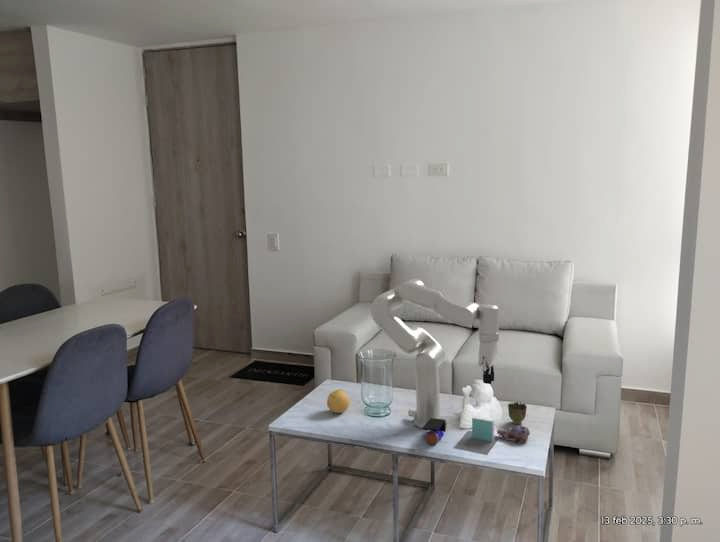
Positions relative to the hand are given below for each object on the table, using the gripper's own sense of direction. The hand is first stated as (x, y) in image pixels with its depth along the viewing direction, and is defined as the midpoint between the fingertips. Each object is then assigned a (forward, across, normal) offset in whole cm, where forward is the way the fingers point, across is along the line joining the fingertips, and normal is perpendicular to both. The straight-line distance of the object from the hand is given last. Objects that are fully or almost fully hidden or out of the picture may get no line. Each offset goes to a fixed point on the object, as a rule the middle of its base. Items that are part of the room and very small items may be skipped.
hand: (488, 381), depth 231 cm
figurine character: (+21, +14, -17) cm, 31 cm away
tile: (+21, +7, 0) cm, 22 cm away
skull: (+21, +2, +10) cm, 24 cm away
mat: (+21, +11, -1) cm, 24 cm away
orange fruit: (+21, +8, -65) cm, 69 cm away
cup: (+21, -13, +8) cm, 26 cm away
